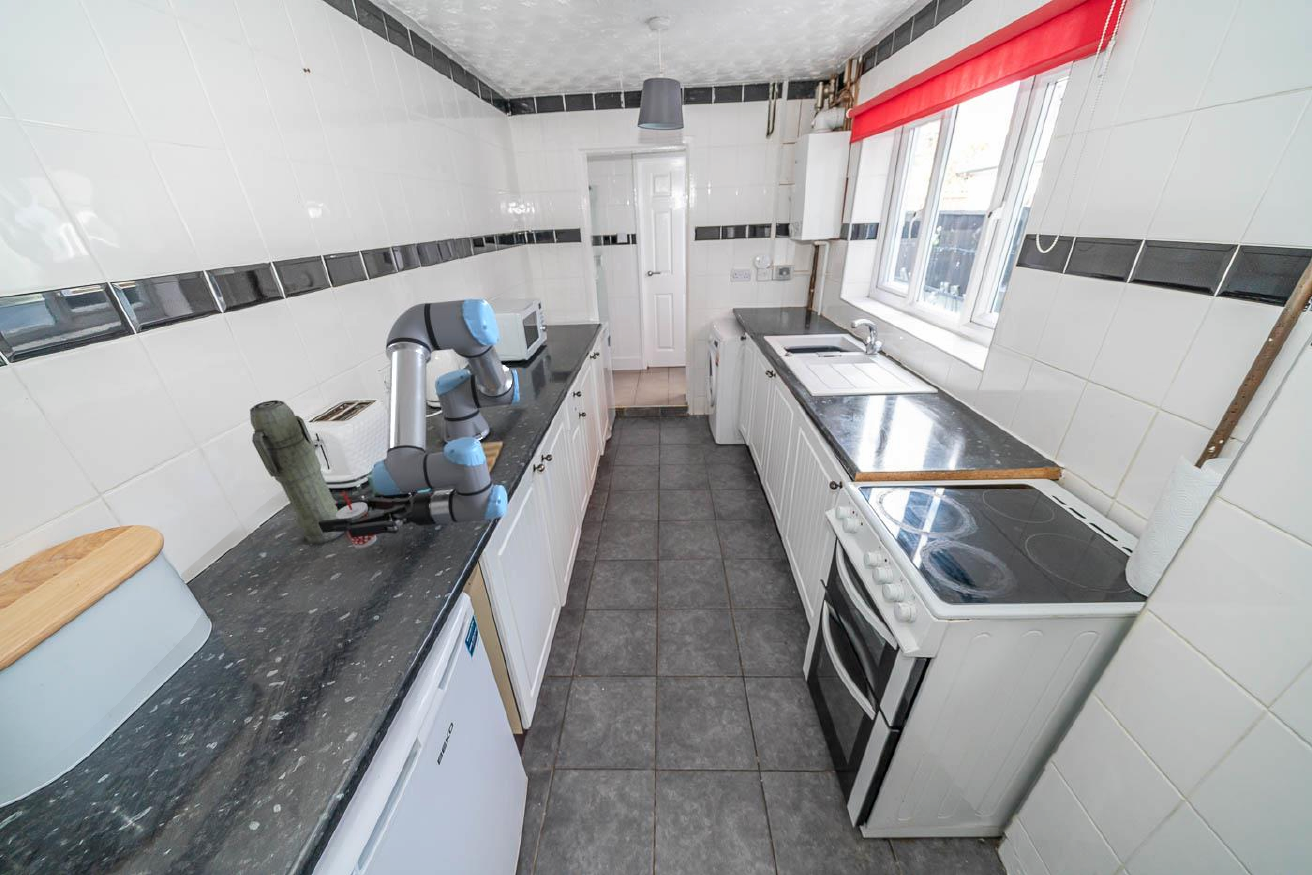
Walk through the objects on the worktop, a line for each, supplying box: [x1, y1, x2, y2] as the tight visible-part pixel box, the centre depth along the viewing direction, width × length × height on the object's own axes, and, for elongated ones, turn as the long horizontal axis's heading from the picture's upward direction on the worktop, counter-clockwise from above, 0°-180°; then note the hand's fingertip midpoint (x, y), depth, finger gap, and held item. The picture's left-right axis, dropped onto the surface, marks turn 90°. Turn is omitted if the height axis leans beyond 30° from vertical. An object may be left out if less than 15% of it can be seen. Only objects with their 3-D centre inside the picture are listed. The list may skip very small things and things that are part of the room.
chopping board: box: [480, 441, 503, 474], centre depth 144 cm, size 18×12×2 cm, turn 5°
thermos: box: [249, 399, 344, 545], centre depth 106 cm, size 9×12×35 cm
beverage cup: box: [336, 490, 377, 549], centre depth 102 cm, size 6×6×14 cm
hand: (330, 517), depth 101 cm, fingers closed on beverage cup, 6 cm apart
